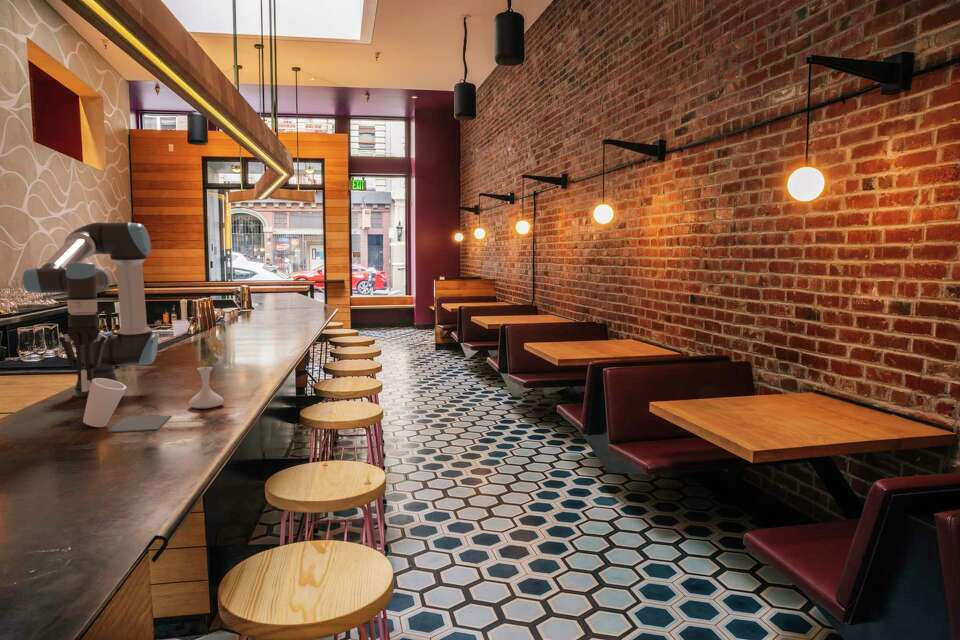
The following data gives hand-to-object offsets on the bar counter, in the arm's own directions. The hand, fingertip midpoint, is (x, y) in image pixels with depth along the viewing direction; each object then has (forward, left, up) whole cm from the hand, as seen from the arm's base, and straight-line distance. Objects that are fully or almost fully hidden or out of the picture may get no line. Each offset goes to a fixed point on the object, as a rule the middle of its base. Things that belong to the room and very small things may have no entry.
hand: (86, 390), depth 186 cm
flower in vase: (-20, +30, -12) cm, 38 cm away
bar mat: (0, +14, -12) cm, 18 cm away
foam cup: (0, +2, -11) cm, 11 cm away
